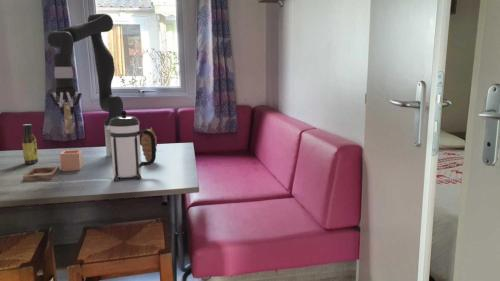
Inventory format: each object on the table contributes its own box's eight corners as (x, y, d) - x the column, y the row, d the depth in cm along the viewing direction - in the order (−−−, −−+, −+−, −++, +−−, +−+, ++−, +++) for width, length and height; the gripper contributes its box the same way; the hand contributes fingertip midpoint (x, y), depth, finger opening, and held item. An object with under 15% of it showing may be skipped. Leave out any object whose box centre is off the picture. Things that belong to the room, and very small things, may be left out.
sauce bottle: (39, 163, 192) (34, 124, 188) (24, 165, 189) (20, 125, 185) (37, 160, 197) (33, 123, 194) (24, 162, 194) (19, 124, 190)
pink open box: (83, 167, 184) (81, 149, 183) (80, 171, 177) (78, 153, 175) (65, 168, 182) (64, 150, 181) (61, 173, 175) (60, 154, 173)
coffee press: (127, 184, 157) (122, 113, 152) (102, 178, 166) (97, 111, 160) (157, 175, 172) (154, 109, 166) (133, 170, 180) (130, 107, 174)
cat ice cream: (151, 165, 189) (150, 129, 186) (138, 163, 192) (136, 128, 188) (161, 161, 197) (159, 127, 194) (148, 159, 200) (146, 126, 196)
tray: (60, 172, 176) (59, 166, 175) (52, 181, 162) (51, 174, 162) (33, 174, 173) (33, 167, 172) (23, 183, 160) (22, 176, 159)
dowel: (74, 132, 178) (71, 102, 175) (72, 133, 175) (69, 103, 172) (66, 132, 177) (63, 102, 175) (65, 133, 174) (62, 103, 171)
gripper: (82, 76, 176) (85, 113, 180) (49, 76, 173) (53, 114, 176) (79, 77, 169) (82, 115, 172) (44, 77, 166) (49, 116, 169)
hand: (67, 114), depth 174 cm, fingers closed on dowel, 3 cm apart
